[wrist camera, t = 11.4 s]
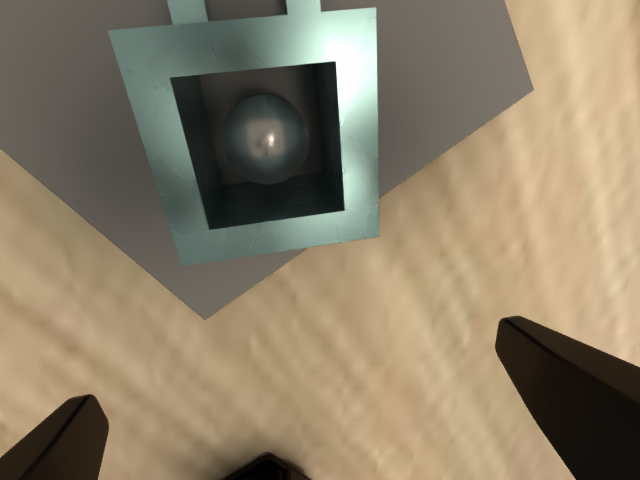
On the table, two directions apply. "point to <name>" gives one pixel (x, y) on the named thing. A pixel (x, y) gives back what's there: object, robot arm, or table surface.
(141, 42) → the teal collar
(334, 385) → the table surface
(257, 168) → the grey metallic rounded piece
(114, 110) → the post board
